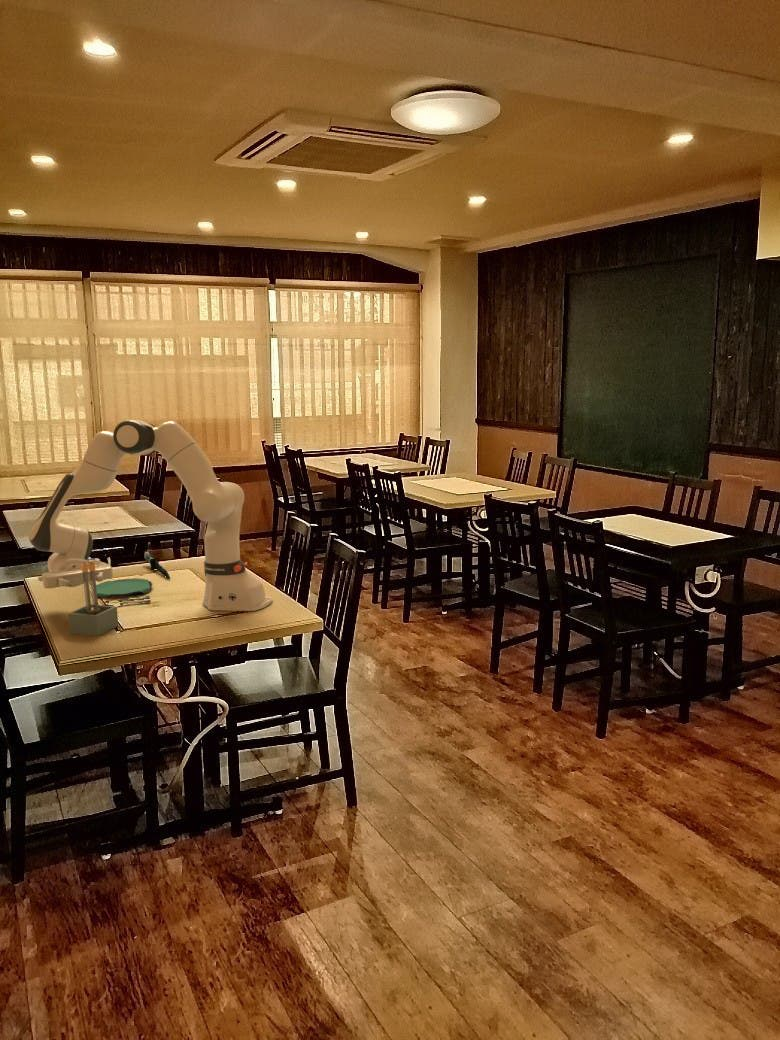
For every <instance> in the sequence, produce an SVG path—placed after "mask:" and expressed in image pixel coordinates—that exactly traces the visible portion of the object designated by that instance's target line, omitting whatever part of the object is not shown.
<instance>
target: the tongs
mask: <svg viewBox="0 0 780 1040" xmlns="http://www.w3.org/2000/svg"><path fill="white" fill-rule="evenodd" d="M88 569H89V570H90V580H91V582H88ZM81 570H82V572H83V581H84V584H83V588H84V598H85V606H86V608H85V611H86V612H87V614H89V615H92V613H94V614H93V615H97V614H99V611H100V608H98V605H99V602H98V596H97V590H96V585H97V581H96V580H95V564H94V563H93V562H89V563H88V565H87V564H86V563H82V564H81ZM90 587H91V593H90ZM91 596H92V597H91ZM91 599H92V600H91ZM91 604H92V605H93V607H91Z"/></svg>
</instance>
